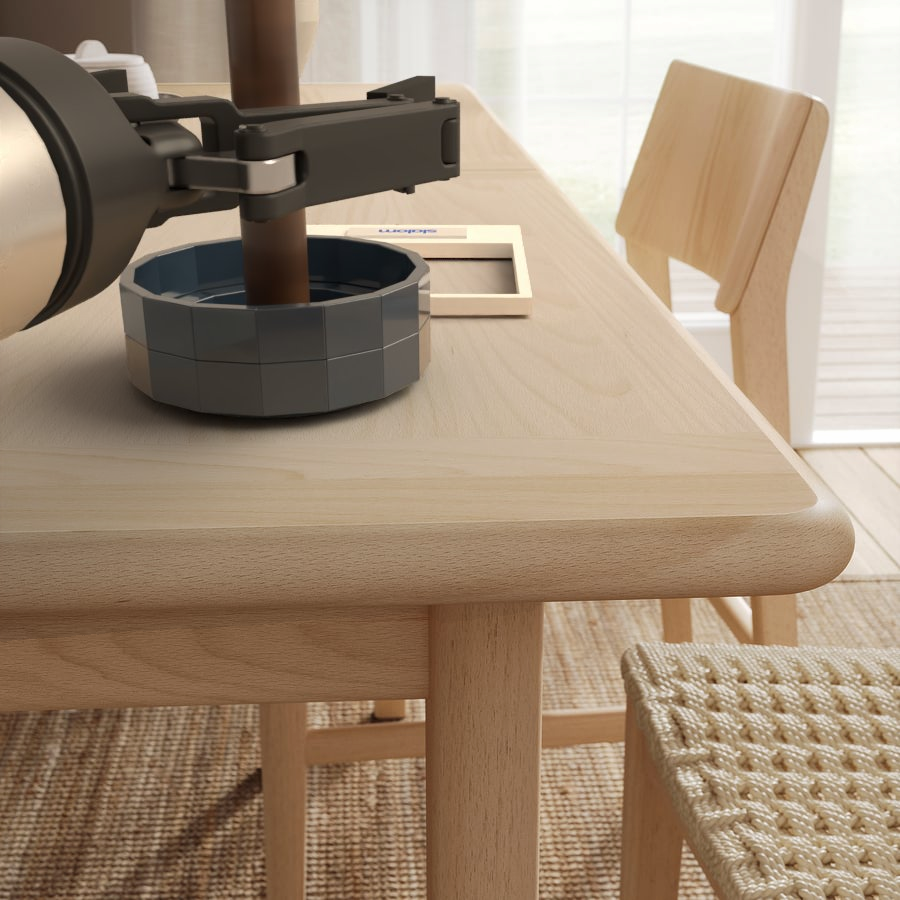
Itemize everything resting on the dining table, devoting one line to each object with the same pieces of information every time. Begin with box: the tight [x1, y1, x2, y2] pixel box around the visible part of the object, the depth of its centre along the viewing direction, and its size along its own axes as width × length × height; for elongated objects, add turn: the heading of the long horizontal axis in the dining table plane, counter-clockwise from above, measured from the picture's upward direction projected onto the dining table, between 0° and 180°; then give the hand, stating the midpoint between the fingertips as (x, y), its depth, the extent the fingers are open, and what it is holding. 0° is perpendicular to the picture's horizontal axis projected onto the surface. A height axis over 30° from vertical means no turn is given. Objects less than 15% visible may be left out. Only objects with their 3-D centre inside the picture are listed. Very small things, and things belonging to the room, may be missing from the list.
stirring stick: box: [223, 0, 310, 306], centre depth 50 cm, size 3×3×16 cm
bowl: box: [118, 235, 432, 419], centre depth 52 cm, size 13×13×5 cm
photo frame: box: [306, 224, 534, 316], centre depth 70 cm, size 15×1×18 cm
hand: (269, 106), depth 49 cm, fingers open, 13 cm apart
